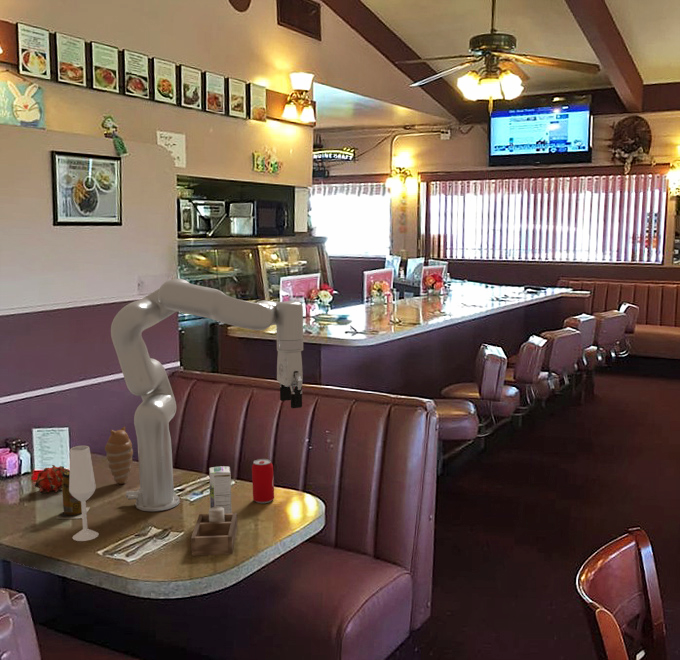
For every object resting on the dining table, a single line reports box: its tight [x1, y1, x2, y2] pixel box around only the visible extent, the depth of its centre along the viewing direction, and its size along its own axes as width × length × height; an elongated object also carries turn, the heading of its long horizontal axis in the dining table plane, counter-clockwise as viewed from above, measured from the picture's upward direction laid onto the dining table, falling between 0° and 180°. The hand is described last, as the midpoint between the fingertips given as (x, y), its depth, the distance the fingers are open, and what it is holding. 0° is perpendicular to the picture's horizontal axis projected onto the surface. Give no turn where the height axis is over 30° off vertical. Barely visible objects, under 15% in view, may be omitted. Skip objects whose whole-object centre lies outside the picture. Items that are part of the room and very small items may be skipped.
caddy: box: [190, 507, 239, 556], centre depth 203 cm, size 10×16×7 cm, turn 3°
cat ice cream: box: [104, 426, 134, 485], centre depth 249 cm, size 9×8×18 cm
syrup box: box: [208, 465, 233, 513], centre depth 218 cm, size 6×6×14 cm
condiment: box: [56, 469, 91, 520], centre depth 225 cm, size 7×8×12 cm
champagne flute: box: [69, 445, 99, 542], centre depth 207 cm, size 7×7×24 cm
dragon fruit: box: [34, 464, 69, 494], centre depth 245 cm, size 8×8×12 cm
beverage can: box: [251, 458, 275, 504], centre depth 232 cm, size 6×6×12 cm
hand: (290, 403), depth 226 cm, fingers open, 9 cm apart
